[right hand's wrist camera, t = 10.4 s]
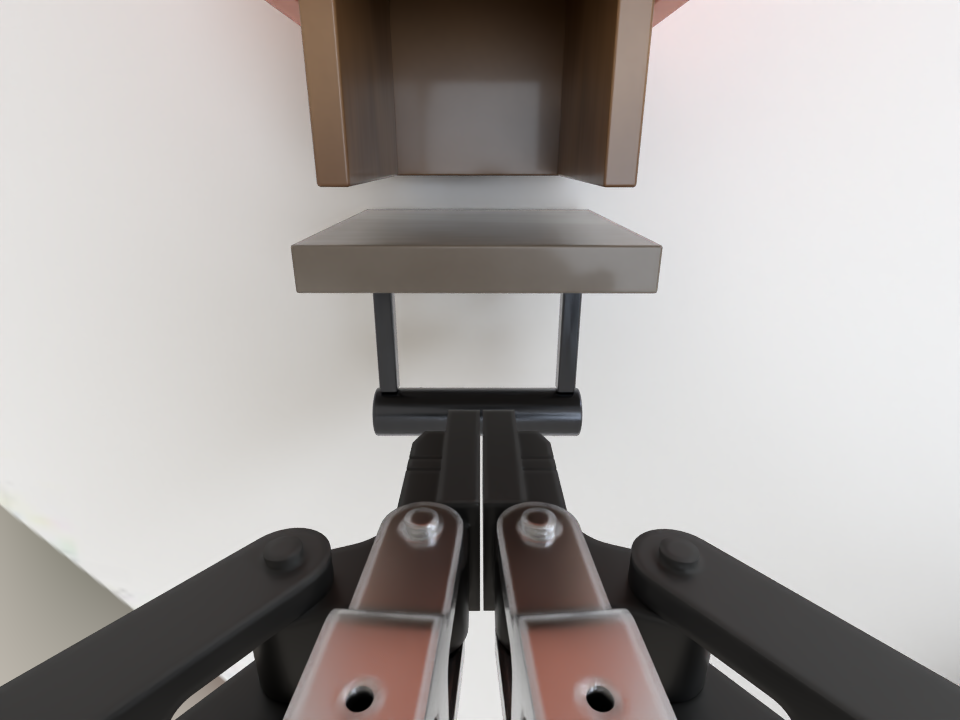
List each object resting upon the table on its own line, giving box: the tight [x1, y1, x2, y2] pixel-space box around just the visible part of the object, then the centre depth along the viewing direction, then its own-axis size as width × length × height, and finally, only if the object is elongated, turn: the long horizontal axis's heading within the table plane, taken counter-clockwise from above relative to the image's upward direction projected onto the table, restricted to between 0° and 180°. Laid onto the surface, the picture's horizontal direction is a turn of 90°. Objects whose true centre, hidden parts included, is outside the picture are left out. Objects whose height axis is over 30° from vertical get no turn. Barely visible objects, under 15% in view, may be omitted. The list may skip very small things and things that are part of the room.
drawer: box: [291, 0, 662, 436], centre depth 16 cm, size 23×9×9 cm, turn 0°
